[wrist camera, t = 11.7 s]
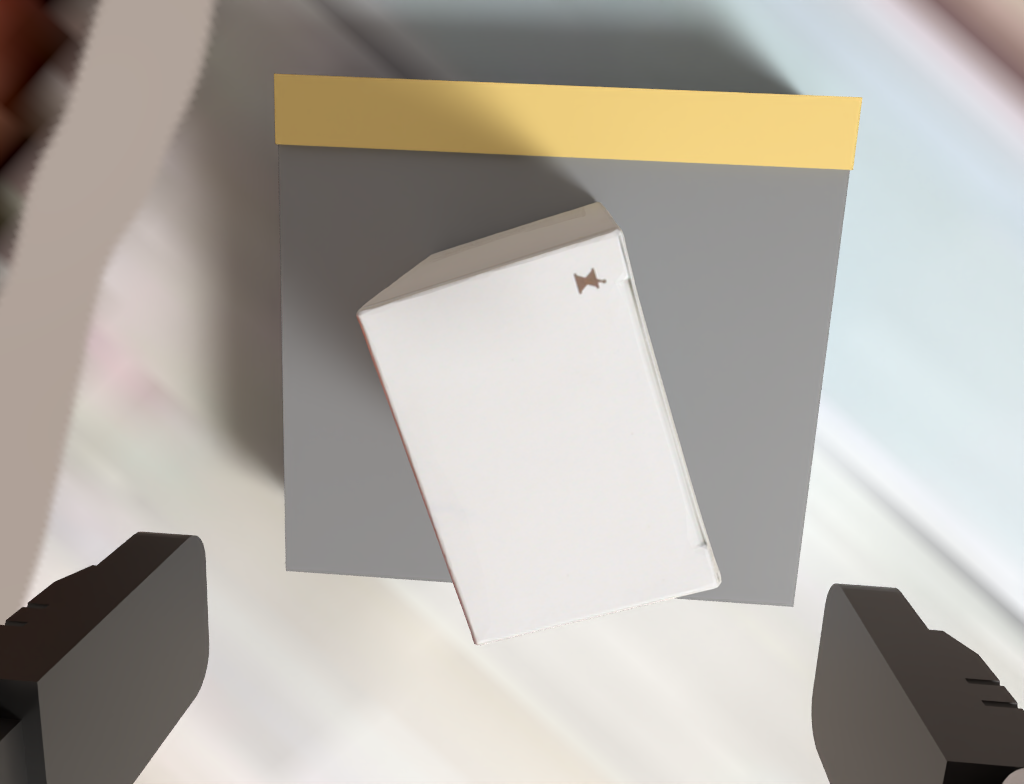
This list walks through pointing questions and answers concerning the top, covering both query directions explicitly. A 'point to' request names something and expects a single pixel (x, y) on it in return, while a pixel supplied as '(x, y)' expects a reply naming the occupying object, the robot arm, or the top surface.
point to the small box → (540, 426)
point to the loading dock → (654, 262)
